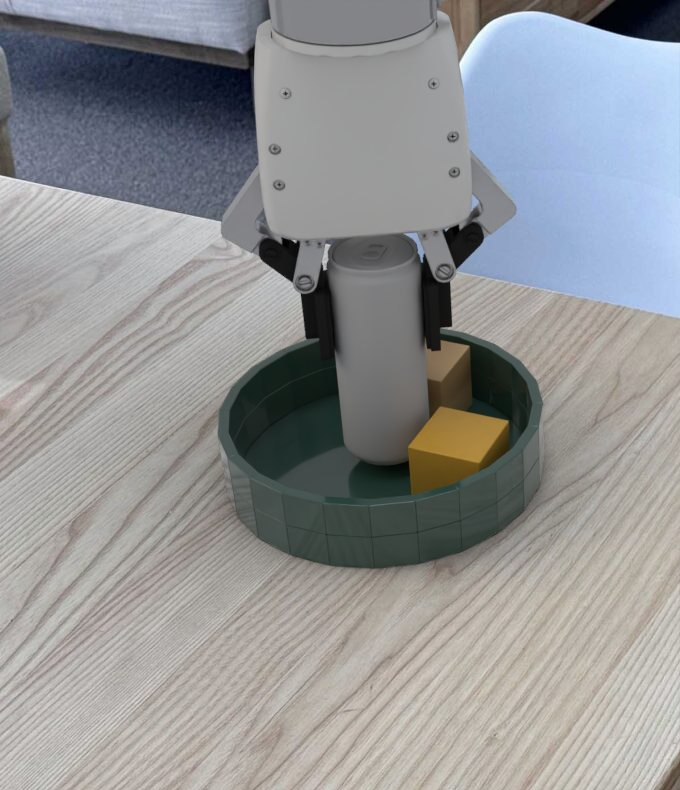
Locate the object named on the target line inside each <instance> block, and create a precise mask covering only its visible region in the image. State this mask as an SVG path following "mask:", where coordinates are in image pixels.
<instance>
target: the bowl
mask: <svg viewBox="0 0 680 790" xmlns="http://www.w3.org/2000/svg"><path fill="white" fill-rule="evenodd" d="M440 337H441V340H442V341H447V342H452V343H457V344H462V345H468V346H470V362H471V384H472V405H471V406H470V408H469V409H468V410H467V411H466V412H469V413H474V414H479V415H484V416H488V417H493V418H498V419H503V420H507V421H509V444H510V450H509V451H508V452H507V453H505V454H504V455H503V456H502V457H500V458H499V459H498V460H497V461H495V462H494V463H493V464H491V465H490V466H489V467H487V468H485V469H483V470H481V471H479V472H477V473H475V474H473V475H470V476H468V477H466V478H464V479H462V480H460V481H458V482H456V483H454V484H451V485H447V486H444V487H440V488H436V489H433V490H429V491H425V492H421V493H418V494H414V495H412V492H411V479H410V466H409V460H408V461H406V462H403V463H399V464H396V465H374V464H370V463H367V462H364V461H362V460H360V459H358V458H357V457H356V456H355V455H354V454H352V453H351V452H350V451H349V450H348V449H347V447H346V445H345V444H344V438H343V428H342V418H341V408H340V398H339V388H338V378H337V368H336V358H335V357H331V360H326V361H321V352H320V343H319V338H315V339H304V340H302V341H299V342H296V343H294V344H291V345H289V346H286V347H284V348H281V349H279V350H278V351H276V352H274V353H273V354H271V355H269V356H268V357H266V358H264V359H263V360H260V362H257V363H256V364H255V365H253V366H251V367H250V368H249V369H248V371H246V372H245V373H244V374H243V375H242V376H241V377H240V378H239V379H238V380H237V381H236V382H235V383H234V384H232V386H231V387H230V389H229V390H228V392H227V394H226V396H225V398H224V400H223V401H222V404H221V406H220V408H219V410H218V420H217V434H216V435H217V440H218V447H219V452H220V459H221V464H222V470H223V475H224V482H225V483H224V484H225V487H226V493H227V496H228V498H229V501H230V503H231V506H232V508H233V511H234V513H235V515H236V517H237V518H238V519H239V520H240V521H241V522H242V524H244V526H245V527H246V528H247V530H248V531H250V532H251V533H252V534H254V535H255V536H256V537H257V538H258V539H259V540H261V541H263V542H265V543H267V544H268V545H269V546H271V547H273V548H275V549H277V550H279V551H282V552H283V553H286V554H288V555H291V556H293V557H296V558H300V559H302V560H305V561H309V562H313V563H317V564H323V565H328V566H335V567H345V568H352V569H353V568H354V569H361V568H362V569H381V568H396V567H402V566H411V565H417V564H422V563H427V562H430V561H435V560H438V559H439V560H440V559H442V558H446V557H448V556H451V555H455V554H457V553H460V552H463V551H466V550H468V549H470V548H472V547H474V546H477V545H478V544H480V543H483V542H484V541H486V540H488V539H490V538H491V537H493V536H494V535H496V534H498V533H499V532H500V531H502V530H503V529H505V528H506V527H507V526H509V525H510V524H511V523H512V522H513V521H514V520H516V518H518V517H519V516H520V515H521V514H522V513H523V512H524V511H525V510H526V508H527V506H529V504H530V503H531V501H532V500H533V499H534V496H535V494H536V493H537V492H538V491H537V490H538V489H539V488H540V485H541V481H542V475H543V469H544V463H545V440H544V439H545V437H544V436H545V435H544V434H545V433H544V431H545V429H544V428H545V427H544V399H543V397H542V393H541V390H540V387H539V383H538V380H537V379H536V377H535V376H534V375H533V374H532V373H531V371H529V369H528V368H527V367H526V365H525V364H524V363H523V362H522V361H521V359H519V358H518V357H516V356H514V355H512V354H511V353H510V352H508V351H506V350H505V349H503V348H502V347H500V346H499V345H498V344H496V343H493V342H491V341H488V340H486V339H483V338H481V337H478V336H475V335H473V334H469V333H467V332H463V331H458V330H455V329H448V328H440Z"/></svg>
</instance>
